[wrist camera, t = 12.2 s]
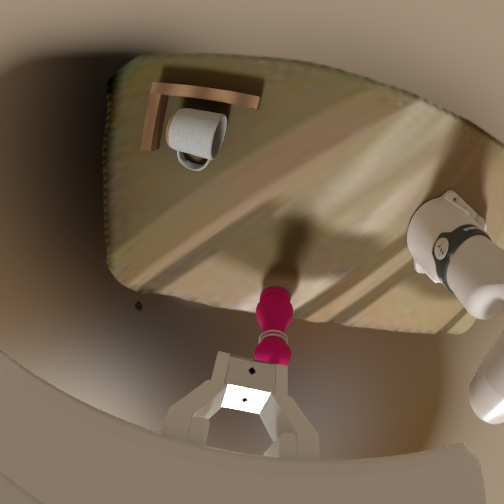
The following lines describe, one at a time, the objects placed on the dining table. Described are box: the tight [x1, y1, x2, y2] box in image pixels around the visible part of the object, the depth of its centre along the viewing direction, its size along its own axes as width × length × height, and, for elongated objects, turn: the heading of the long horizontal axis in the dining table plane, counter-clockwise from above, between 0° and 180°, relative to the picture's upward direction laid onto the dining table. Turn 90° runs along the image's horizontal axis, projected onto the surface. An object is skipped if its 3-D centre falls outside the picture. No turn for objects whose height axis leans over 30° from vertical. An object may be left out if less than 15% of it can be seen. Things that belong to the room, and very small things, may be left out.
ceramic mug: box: [166, 108, 227, 171], centre depth 41 cm, size 11×8×8 cm
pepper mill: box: [254, 287, 293, 366], centre depth 48 cm, size 7×7×20 cm
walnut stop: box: [141, 82, 261, 151], centre depth 41 cm, size 18×12×4 cm, turn 77°
